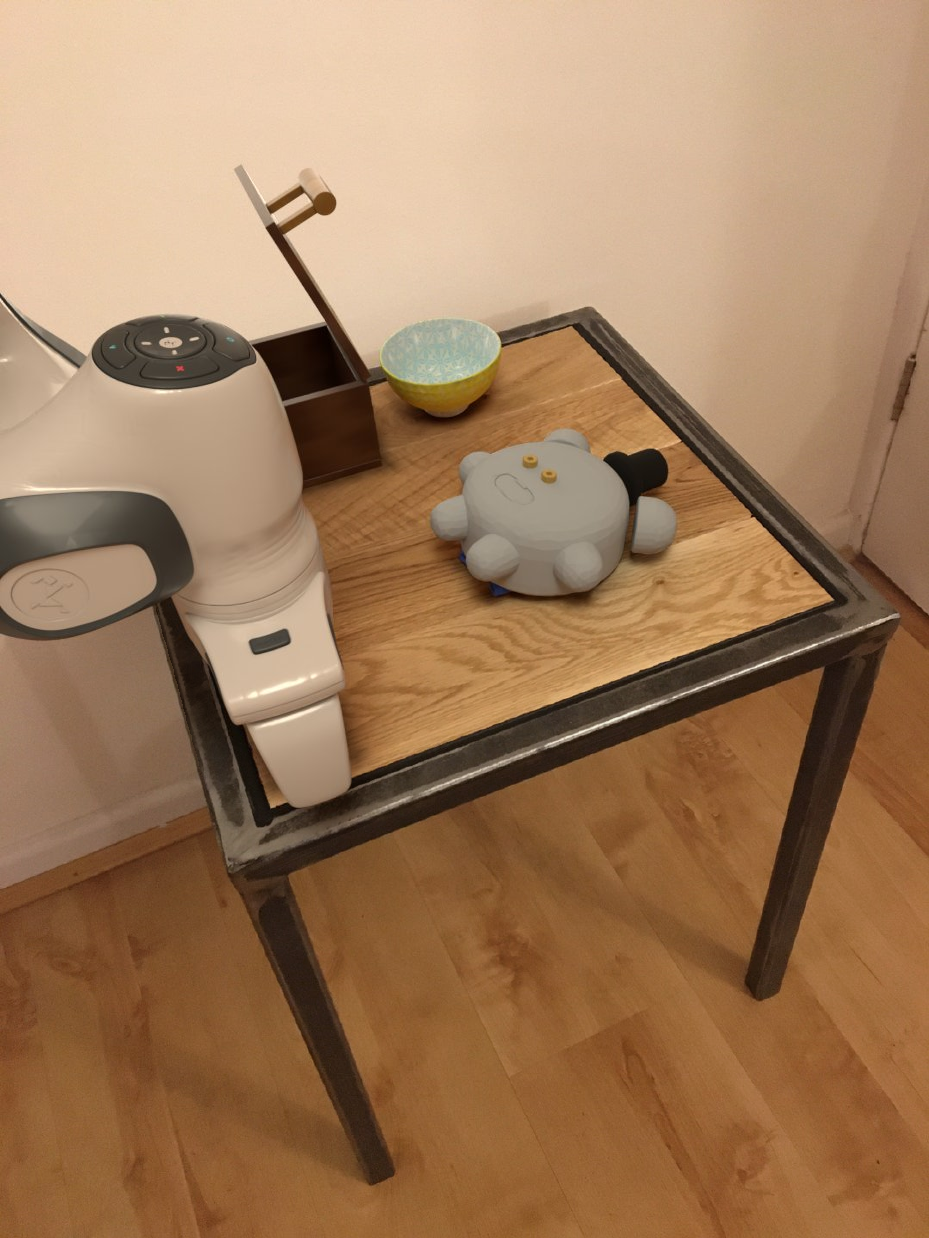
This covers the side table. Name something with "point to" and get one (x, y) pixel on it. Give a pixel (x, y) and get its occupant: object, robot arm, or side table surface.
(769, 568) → the side table surface
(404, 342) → the bowl
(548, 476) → the figurine
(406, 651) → the side table surface
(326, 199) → the lid
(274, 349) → the chest
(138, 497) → the robot arm
